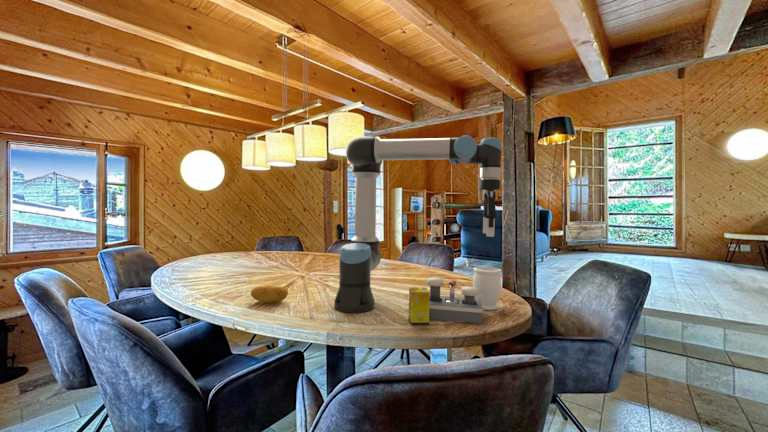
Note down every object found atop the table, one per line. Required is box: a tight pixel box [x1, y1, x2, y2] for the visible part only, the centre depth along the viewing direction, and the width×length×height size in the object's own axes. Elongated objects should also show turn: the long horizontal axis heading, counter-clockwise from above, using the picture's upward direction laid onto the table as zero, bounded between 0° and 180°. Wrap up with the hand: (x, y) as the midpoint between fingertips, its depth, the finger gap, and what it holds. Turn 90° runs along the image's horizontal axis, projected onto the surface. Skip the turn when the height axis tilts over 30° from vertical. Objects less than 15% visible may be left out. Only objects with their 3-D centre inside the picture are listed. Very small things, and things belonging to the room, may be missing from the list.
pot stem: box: [446, 279, 458, 304], centre depth 117 cm, size 4×4×12 cm
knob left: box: [426, 276, 444, 300], centre depth 119 cm, size 6×6×7 cm
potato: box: [250, 285, 289, 304], centre depth 128 cm, size 8×14×7 cm, turn 86°
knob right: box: [460, 285, 478, 305], centre depth 116 cm, size 6×6×7 cm
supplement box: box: [408, 286, 430, 326], centre depth 110 cm, size 6×6×11 cm
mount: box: [429, 295, 484, 324], centre depth 117 cm, size 20×12×5 cm, turn 78°
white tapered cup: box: [472, 265, 502, 311], centre depth 127 cm, size 11×10×15 cm
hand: (488, 234), depth 127 cm, fingers open, 13 cm apart
